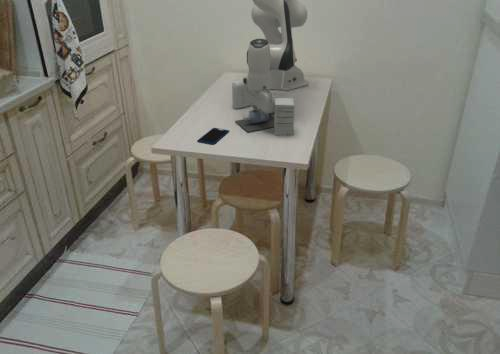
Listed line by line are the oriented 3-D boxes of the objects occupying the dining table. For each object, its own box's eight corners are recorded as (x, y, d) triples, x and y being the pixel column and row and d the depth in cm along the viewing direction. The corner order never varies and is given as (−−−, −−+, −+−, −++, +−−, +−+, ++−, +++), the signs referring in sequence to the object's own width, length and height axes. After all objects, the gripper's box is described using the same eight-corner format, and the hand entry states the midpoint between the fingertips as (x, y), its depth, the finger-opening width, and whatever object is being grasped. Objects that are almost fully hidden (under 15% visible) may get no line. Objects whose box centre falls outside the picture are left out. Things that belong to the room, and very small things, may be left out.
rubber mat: (269, 115, 200) (269, 114, 199) (283, 125, 190) (283, 124, 190) (234, 122, 194) (234, 120, 193) (247, 132, 184) (247, 131, 184)
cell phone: (230, 132, 186) (230, 130, 186) (213, 146, 175) (213, 144, 175) (213, 129, 189) (213, 127, 188) (196, 142, 178) (196, 141, 177)
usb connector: (272, 115, 195) (273, 106, 193) (277, 118, 193) (277, 109, 191) (242, 121, 190) (242, 112, 188) (246, 124, 187) (246, 115, 185)
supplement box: (273, 128, 188) (274, 97, 182) (292, 128, 188) (293, 97, 182) (274, 135, 182) (274, 104, 176) (293, 135, 182) (294, 104, 176)
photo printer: (250, 102, 214) (250, 75, 208) (255, 105, 211) (255, 78, 204) (231, 107, 209) (230, 79, 203) (236, 109, 206) (235, 82, 200)
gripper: (279, 89, 177) (278, 124, 183) (254, 74, 193) (254, 107, 200) (264, 92, 174) (264, 127, 181) (240, 77, 190) (241, 109, 197)
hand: (259, 116), depth 190 cm, fingers closed on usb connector, 4 cm apart
